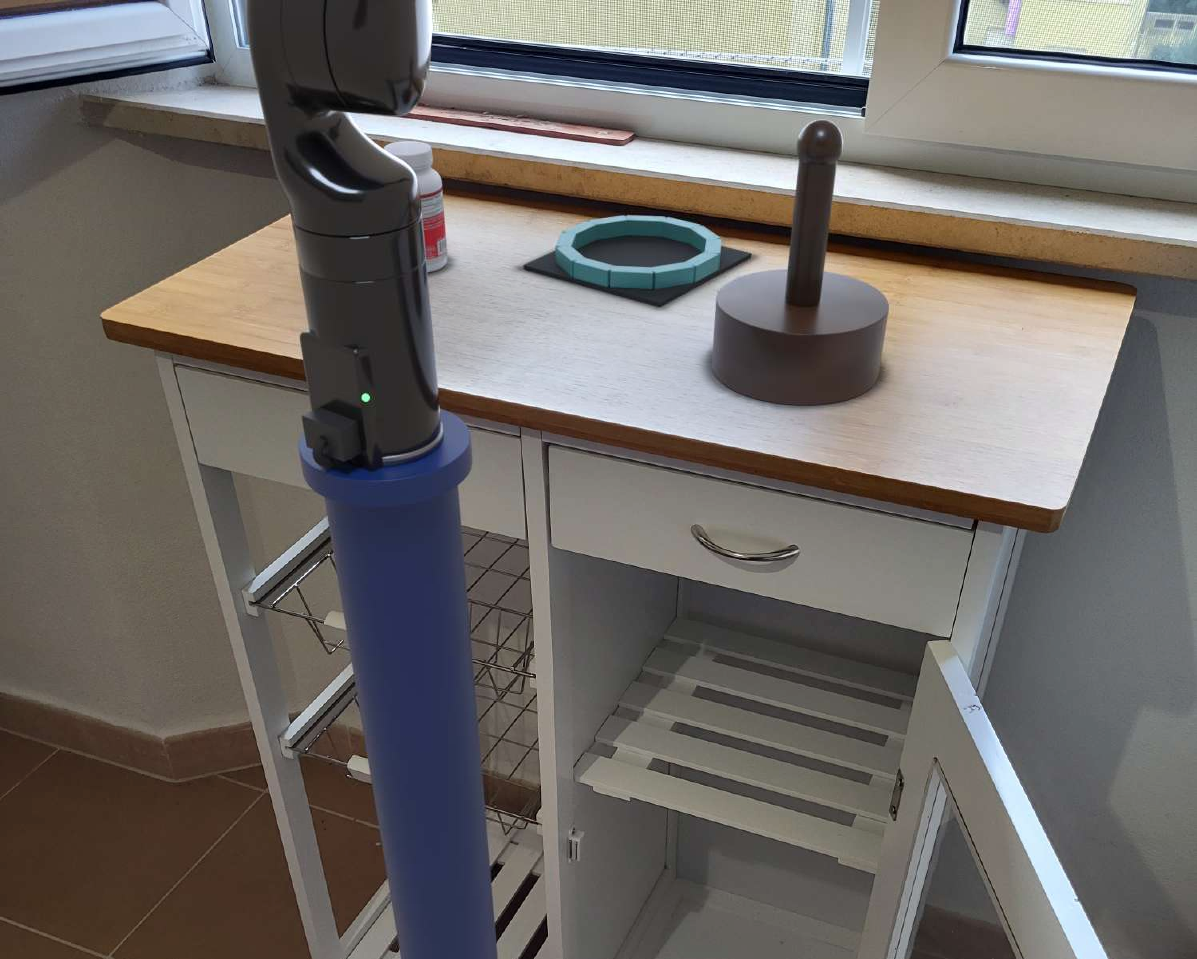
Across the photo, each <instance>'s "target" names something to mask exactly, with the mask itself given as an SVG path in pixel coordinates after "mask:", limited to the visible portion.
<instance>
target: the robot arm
mask: <svg viewBox="0 0 1197 959" xmlns="http://www.w3.org/2000/svg"><path fill="white" fill-rule="evenodd" d="M432 7H433V6H432V0H245V22H246V33H247V41H248V46H249V47H248V49H249V54H250V60H251V64H252V69H253V74H254V79H255V84H256V88H257V89H256V90H257V92H258V98H259V102H260V106H261V111H262V117H263V120H264V125H265V126H264V127H265V130H266V134H267V139H268V143H269V144H268V145H269V149H270V154H271V159H272V164H273V168H274V173H275V175H276V179H277V181H278V183H279V185H280V187H281V189H282V191H283V193H284V195H285V198H286V199H287V203H288V208H289V212H290V218H291V224H292V231H293V238H294V244H295V249H296V250H295V251H296V256H297V262H298V263H297V264H298V269H299V276H300V281H301V289H302V295H303V299H304V300H303V301H304V307H305V314H306V320H307V326H308V329H306V330H303V331H301V333H300V334H299V344H300V349H301V355H302V361H303V367H304V375H305V380H306V385H307V391H308V398H309V404H310V411H308V412H306V413H304V414H302V415H301V422H302V428H303V433H304V434H305V440H306V445H307V447H308V448H311V449H313V452H312V454H313V459H314V461H315V462H316V463H317V464H319V465H320V466H322V467H325V468H328V469H331V468H333V467H334V464H335V463H334V461H333V460H332V459H330V458H328V457H325V456H323V454H326V455H328V456H331V457H333V458H336V459H338V460H341V461H343V462H347V463H350V464H353V465H355V466H357V467H360V468H362V469H365V470H367V471H370V472H374V471H376V470H378V469H380V468H383V467H387V466H395V465H401V464H406V463H410V462H413V461H416V460H419V459H422V458H424V457H426V456H428V455H430V454H431V453H433V452H434V451H435V450H436V449H437V448H438V447H439V446H440V445H441V443H442V441H443V438H444V437H443V425H442V422H441V416H440V409H441V407H440V405H441V404H440V396H439V387H438V386H439V385H438V375H437V373H438V372H437V364H436V352H435V351H436V350H435V341H434V340H435V339H434V331H433V330H434V329H433V320H432V309H431V298H430V288H429V287H430V286H429V277H428V275H429V274H428V272H427V264H426V251H425V240H424V229H423V218H422V206H421V195H420V187H419V182H418V178H417V176H416V174H415V172H414V171H413V169H412V168H411V167H410V166H409V165H408V164H407V163H405V162H404V161H402V160H401V159H399V158H397V157H396V156H394V155H392V154H390V153H389V152H387V151H386V150H384V147H381V146H380V145H379V144H377V143H376V142H375V141H373V139H371V138H369V136H368V135H367V134H366V133H365V132H364V131H363V130H362V129H361V128H360V127H359V126H358V124H357V123H356V121H354V119H353V117H352V114H358V115H359V114H360V115H366V116H376V117H386V118H387V117H388V118H393V117H403V116H406V115H408V114H410V113H411V112H412V111H413V110H414V109H415V108H416V107H417V106H418V104H419V102H420V101H421V98H422V96H423V94H424V91H425V89H426V84H427V81H428V76H429V73H430V66H431V65H430V64H431V58H432V42H433V8H432Z"/></svg>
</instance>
